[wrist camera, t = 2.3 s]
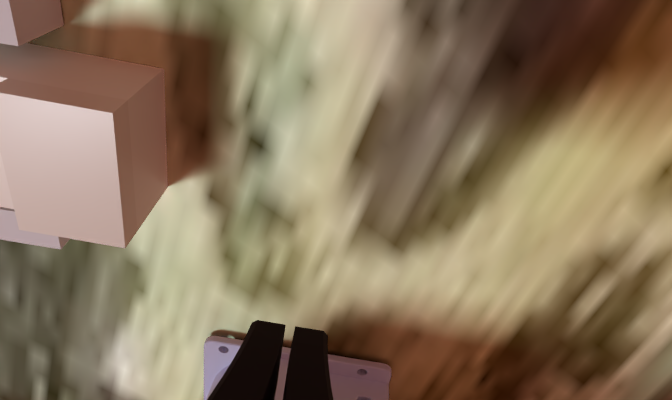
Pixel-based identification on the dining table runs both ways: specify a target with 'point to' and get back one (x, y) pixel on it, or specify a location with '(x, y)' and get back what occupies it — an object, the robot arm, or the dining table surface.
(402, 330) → the dining table surface
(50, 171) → the pink stepped block
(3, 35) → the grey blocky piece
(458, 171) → the dining table surface
